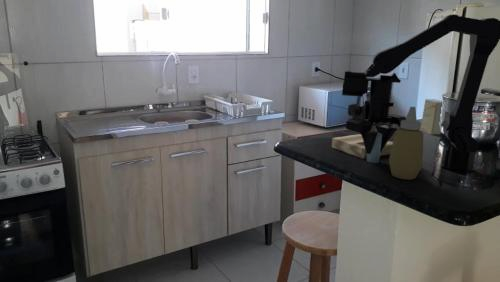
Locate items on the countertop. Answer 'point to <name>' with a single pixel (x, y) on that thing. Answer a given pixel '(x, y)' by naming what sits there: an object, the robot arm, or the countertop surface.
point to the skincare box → (431, 117)
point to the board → (356, 146)
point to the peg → (375, 150)
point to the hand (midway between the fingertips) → (373, 152)
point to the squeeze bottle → (407, 148)
